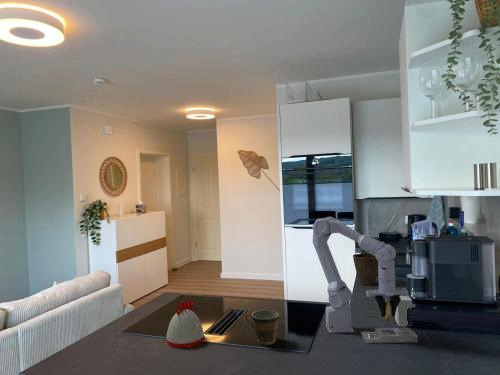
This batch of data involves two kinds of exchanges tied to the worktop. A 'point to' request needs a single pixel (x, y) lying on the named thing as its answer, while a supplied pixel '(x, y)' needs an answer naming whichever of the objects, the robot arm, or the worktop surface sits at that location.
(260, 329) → the ceramic cup
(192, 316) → the white red bobble hat
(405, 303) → the small box
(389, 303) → the brass pin
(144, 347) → the worktop surface
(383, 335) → the notched mounting plate
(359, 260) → the plant pot
